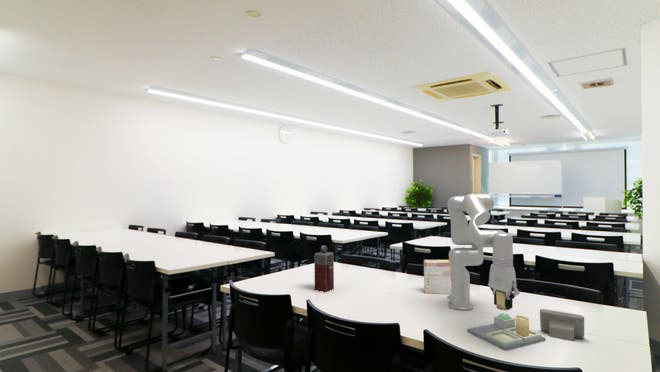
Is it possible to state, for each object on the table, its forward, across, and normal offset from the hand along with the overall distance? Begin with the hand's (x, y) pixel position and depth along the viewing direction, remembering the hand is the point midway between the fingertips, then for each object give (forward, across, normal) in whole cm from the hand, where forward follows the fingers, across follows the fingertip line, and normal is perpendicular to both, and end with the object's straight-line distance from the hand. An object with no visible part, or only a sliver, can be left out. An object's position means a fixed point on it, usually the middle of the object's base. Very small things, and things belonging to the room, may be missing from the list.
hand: (503, 305), depth 145 cm
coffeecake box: (+15, -67, +22) cm, 72 cm away
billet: (+1, 0, 0) cm, 1 cm away
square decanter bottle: (+15, -99, -40) cm, 108 cm away
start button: (+13, -9, +12) cm, 20 cm away
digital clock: (+15, +5, +28) cm, 33 cm away
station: (+15, -4, +6) cm, 16 cm away
